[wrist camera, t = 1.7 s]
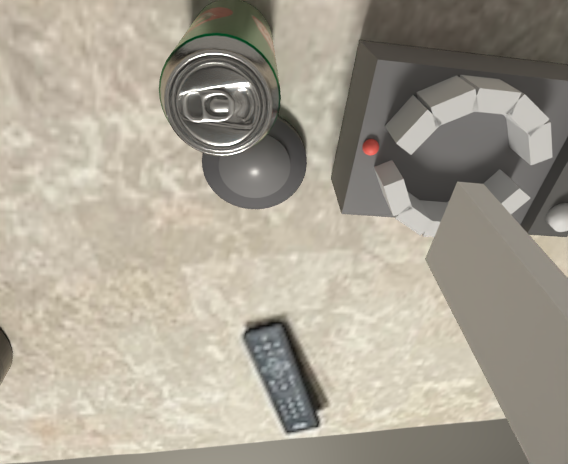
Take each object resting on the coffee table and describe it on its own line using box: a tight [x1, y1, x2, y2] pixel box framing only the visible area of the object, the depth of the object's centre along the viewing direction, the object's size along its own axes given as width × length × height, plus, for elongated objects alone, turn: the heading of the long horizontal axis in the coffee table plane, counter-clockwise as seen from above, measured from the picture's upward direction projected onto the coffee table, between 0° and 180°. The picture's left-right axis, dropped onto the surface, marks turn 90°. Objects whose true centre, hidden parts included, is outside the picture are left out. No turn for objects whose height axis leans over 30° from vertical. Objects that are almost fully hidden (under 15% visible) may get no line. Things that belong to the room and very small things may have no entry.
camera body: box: [331, 40, 568, 237], centre depth 27 cm, size 16×10×8 cm, turn 83°
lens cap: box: [202, 116, 307, 209], centre depth 31 cm, size 8×8×1 cm
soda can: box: [159, 0, 281, 156], centre depth 22 cm, size 5×5×12 cm
